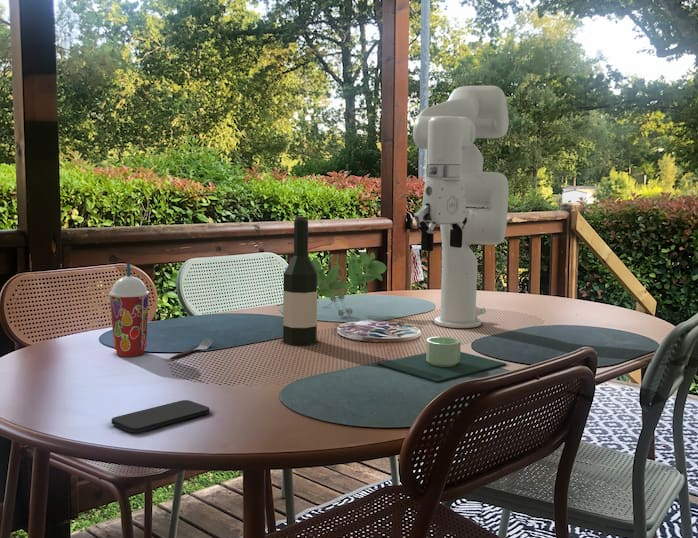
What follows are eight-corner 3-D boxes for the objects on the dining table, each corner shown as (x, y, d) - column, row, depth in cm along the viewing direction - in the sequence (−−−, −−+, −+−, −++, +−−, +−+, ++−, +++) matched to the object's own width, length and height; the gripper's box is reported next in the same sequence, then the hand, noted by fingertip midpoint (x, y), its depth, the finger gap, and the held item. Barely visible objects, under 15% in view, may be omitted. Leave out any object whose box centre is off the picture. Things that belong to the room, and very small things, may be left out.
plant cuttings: (280, 347, 203) (333, 306, 191) (252, 293, 207) (302, 250, 195) (357, 327, 231) (407, 290, 219) (331, 280, 235) (378, 241, 223)
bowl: (441, 357, 167) (442, 335, 166) (466, 364, 161) (467, 341, 161) (418, 362, 162) (419, 339, 161) (443, 369, 156) (444, 345, 156)
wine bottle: (323, 340, 183) (325, 216, 179) (306, 347, 175) (308, 218, 171) (293, 336, 186) (294, 215, 182) (276, 342, 179) (276, 216, 175)
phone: (212, 408, 127) (134, 429, 115) (212, 413, 127) (134, 434, 115) (186, 399, 131) (108, 418, 120) (186, 403, 132) (108, 423, 120)
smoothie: (157, 351, 168) (156, 262, 166) (135, 359, 161) (133, 267, 158) (126, 347, 171) (124, 260, 169) (102, 356, 163) (99, 264, 161)
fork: (164, 360, 161) (164, 351, 161) (205, 345, 176) (205, 336, 176) (174, 362, 160) (174, 353, 160) (214, 346, 175) (214, 338, 175)
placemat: (447, 350, 175) (447, 348, 175) (506, 365, 163) (506, 363, 163) (378, 364, 161) (378, 363, 161) (437, 382, 148) (437, 380, 148)
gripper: (429, 174, 159) (427, 254, 162) (481, 172, 170) (479, 247, 173) (404, 172, 164) (402, 250, 167) (456, 171, 176) (454, 244, 179)
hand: (441, 248), depth 170 cm, fingers open, 9 cm apart
